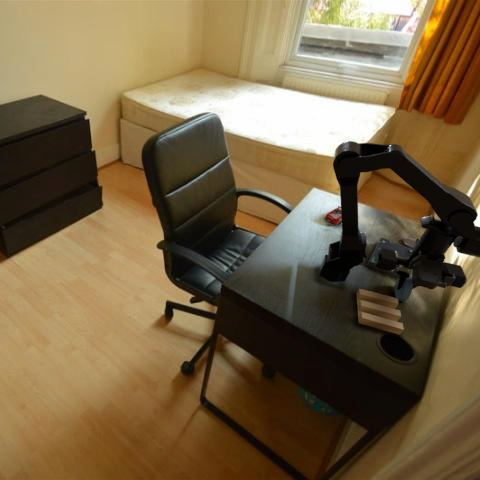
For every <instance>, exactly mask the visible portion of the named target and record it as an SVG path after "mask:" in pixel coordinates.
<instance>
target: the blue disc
mask: <svg viewBox="0 0 480 480" xmlns="http://www.w3.org/2000/svg"><path fill="white" fill-rule="evenodd" d="M412 288H413V283H412V276H410V277H409V278H406V280H405V282H404V283H403V285H402V287H401V288H400V289H399V290H397V280H395V283H394V285H393V291H394V298H397V299H398V302H401V303H404V302H407V301H408V300H409V298H410V297H411V294H412V292H413V289H412Z"/></svg>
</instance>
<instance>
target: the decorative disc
mask: <svg viewBox="0 0 480 480" xmlns="http://www.w3.org/2000/svg"><path fill="white" fill-rule="evenodd" d="M416 239H417V238H415V237H410V236H409V237H403V238H402V239H401V240H402V243H403V244H404V246H406V247H408V248H411V249H413V248H414V247H415V245H416V243H415V241H416Z"/></svg>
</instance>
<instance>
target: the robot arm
mask: <svg viewBox="0 0 480 480" xmlns="http://www.w3.org/2000/svg"><path fill="white" fill-rule="evenodd" d="M332 167H333V171H334V175H335V178H336V182H337V183H338V185H339V193H340V196H339V197H340V207H341V218H342V223H341V234H340V239H339V240H338V241H334V242H331V243H329V244H328V252H327V254H325V255H324V256H323V260H322V261H321V264H320V266H319V268H318V269H319V270H318V276H319V277H322V278H323V279H324V280H326V281H328V282H332V283H337V282H346V281H347V278H348V276H349V275H350V272H351V270H353V268H356V267H358V266H360V265H362V264H363V263H364V259H367V258H368V248H367V247H368V244H367V232H366V231H364V232H361V231H360V228H359V191H358V189H359V186H358V185H359V181H360V179H361V178H360V177H361V173H370V172H374V171H378V170H384V169H385V170H387V169H389V170H390V171H392V172H393V173H394V174H395V175H397V176H398V177H399V178H400V179H401V180H403V181H404V182H405V183H406V184H407V185H408V186H410V187H411V188H412V189H413V190H414V191H416V192H417V193H418V194H419V195H420V196H422V198H424V199H425V200H426V201H427V202H428V204H429V205H430V206H431V208H432V210H433V211H434V213H435V214H436V216H437V217H438V219H437V218H435V216H434V215H433V214H431V215H430V216H424V217H420V218H419V222H420V227H421V228H422V229H425V230H424V231H423V233H422V235H421V236H420V237H419V238H415V239H416V241H415V243H416V245H415V247H414V248H413V250H412V251H409V252H408V253H407V256H408V257H407V259H406V258H401V257H396V253H395V251H393V250H389V249H385V248H378V249H376V251H375V252H374V251H373V252H374V260H375V266H376V267H377V268H379V269H383V270H387V271H391V270H394V269H395V273H396V274H397V277H396V281H397V290H399V289H400V288H401V287H402V285H403V283H404V282H405V280H406V278H409V277H411V278H412V283H413V288H412V290H414V289H416V288H418V287H420V288H425V289H428V290H435V289H436V288H443V289H446V288H447V287H454V288H459V289H462V288H463V287H464V286H465V285H466V284H467V281H468V278H467V276H466V274H465V271H464V269H463V267H462V266H461V265H460V264H454V263H450V262H446V261H445V259H446V253H447V251H448V250H449V249H450V248H451V246H453V247H454V248H456V249H455V250H456V251H457V253H459V254H463V255H466V256H470V257H475V258H478V259H480V226H478V225H475V221H477V219H478V215H479V214H478V211H477V209H476V207H475V205H474V203H473V200H472V198H470V196H469V195H467V194H466V193H464V192H462V191H460V190H459V189H457V188H455V187H452V186H449V185H446V184H445V183H443V182H441V181H440V179H438V178H437V177H436V176H434V174H432V173H431V172H430V171H429V170H428V169H426V168H425V167H424V166H423V165H422V164H420V163H419V162H418V161H417V160H416V159H415V158H414V157H413V156H411V155H410V154H409V153H408V152H406V151H405V150H404V148H403V147H402V145H400V144H396V143H390V144H382V143H373V142H359V143H358V142H356V141H354V140H353V141H352V140H348V141H344V142H342V143H340V144H339V145H338V146H336V148H335V150H334V156H333V161H332ZM410 270H411V271H410ZM409 271H410V272H411V275H410V274H409Z"/></svg>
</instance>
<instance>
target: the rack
mask: <svg viewBox="0 0 480 480" xmlns="http://www.w3.org/2000/svg"><path fill="white" fill-rule="evenodd" d="M356 305H357V316H358V319H357V320H358V324H361V325H365V326H368V327H371V328H375V329H377V330H382V331H385V332H388V333H392V334H394V335H395V334H396V335H398V336H399V335H401V334H402V333H403V331H404V330H405V328H404V323H402V322H399V320H400V319H401V317H402V313H401V310H399V309H397V308H398V306H399V301H398V299H397V298H396V297H395V296H394V297H393V296H389V295H385V294H381V293H378V292H376V291H375V292H374V291H370V290H367V289H362V288H359V289H358V291H357V292H356Z"/></svg>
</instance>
